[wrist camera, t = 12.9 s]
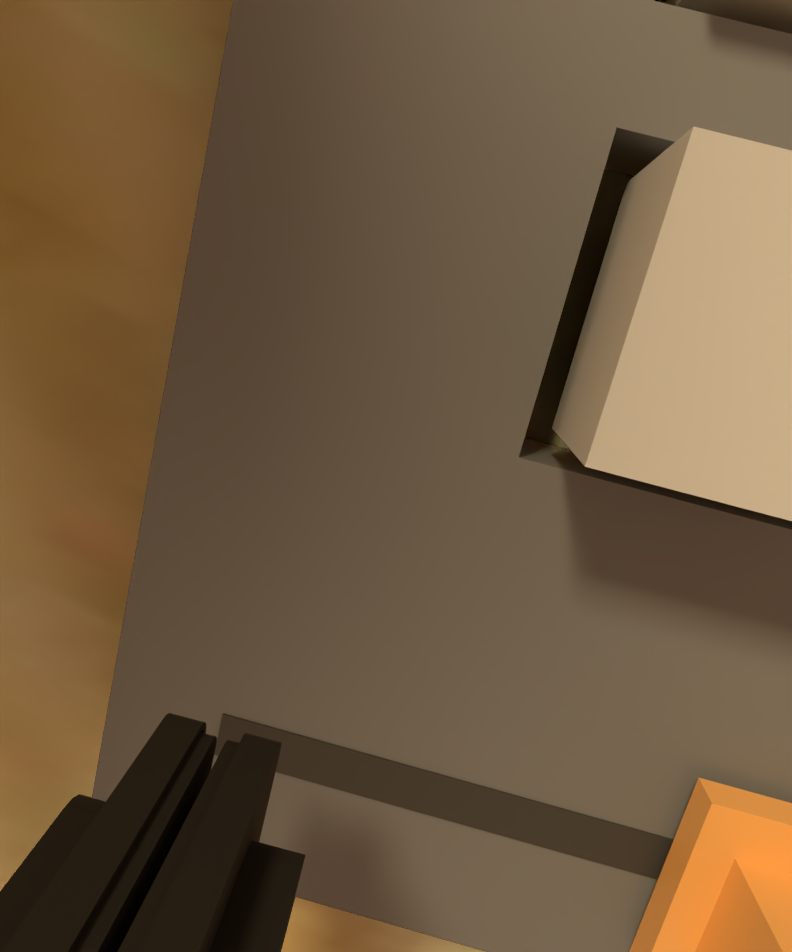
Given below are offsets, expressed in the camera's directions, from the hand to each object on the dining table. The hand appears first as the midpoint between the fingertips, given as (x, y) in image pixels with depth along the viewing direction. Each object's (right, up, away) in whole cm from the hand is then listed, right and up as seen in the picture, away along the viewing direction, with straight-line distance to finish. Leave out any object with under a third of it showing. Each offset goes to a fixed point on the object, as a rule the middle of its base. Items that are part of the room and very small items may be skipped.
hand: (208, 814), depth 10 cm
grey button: (+9, +7, +4) cm, 12 cm away
